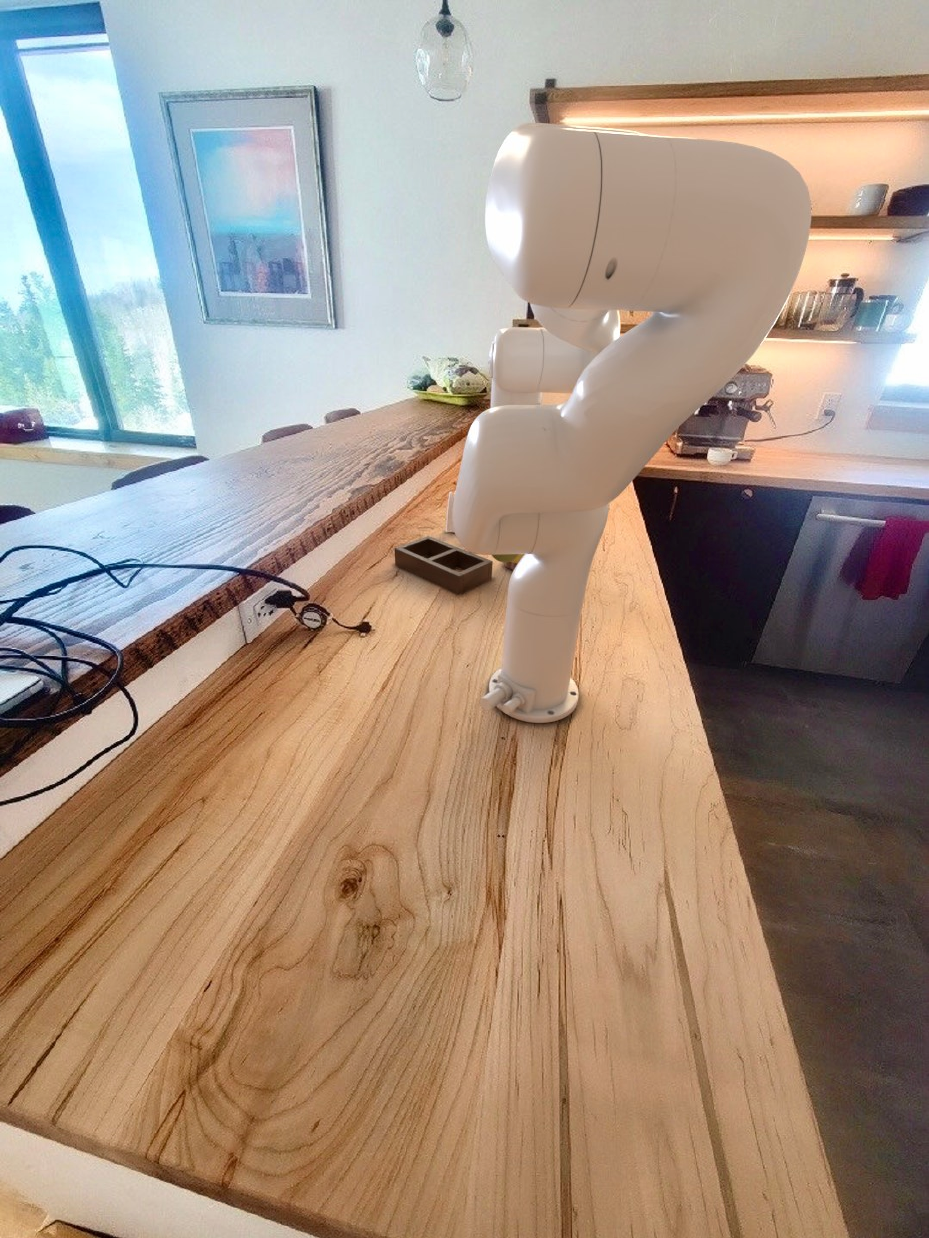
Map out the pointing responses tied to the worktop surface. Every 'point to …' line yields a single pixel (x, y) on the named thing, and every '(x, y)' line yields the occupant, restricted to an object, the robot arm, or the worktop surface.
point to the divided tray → (443, 564)
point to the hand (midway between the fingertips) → (505, 534)
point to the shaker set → (450, 514)
